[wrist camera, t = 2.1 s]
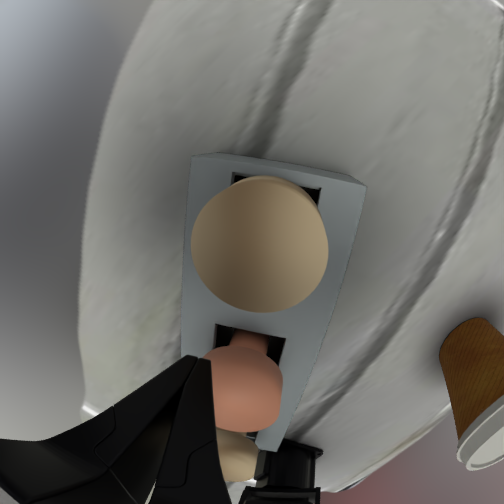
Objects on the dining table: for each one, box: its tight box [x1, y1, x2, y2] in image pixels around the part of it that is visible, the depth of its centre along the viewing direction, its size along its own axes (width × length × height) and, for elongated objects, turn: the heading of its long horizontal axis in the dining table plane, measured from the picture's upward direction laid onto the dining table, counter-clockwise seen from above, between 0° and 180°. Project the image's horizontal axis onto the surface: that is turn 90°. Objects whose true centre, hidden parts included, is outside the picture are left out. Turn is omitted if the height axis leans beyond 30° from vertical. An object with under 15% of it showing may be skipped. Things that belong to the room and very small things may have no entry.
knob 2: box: [191, 175, 328, 313], centre depth 14 cm, size 5×5×7 cm
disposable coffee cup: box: [439, 318, 504, 471], centre depth 15 cm, size 10×10×12 cm
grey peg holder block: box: [181, 152, 367, 452], centre depth 21 cm, size 9×24×5 cm, turn 172°
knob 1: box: [216, 427, 259, 482], centre depth 21 cm, size 5×5×7 cm
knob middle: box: [203, 328, 283, 432], centre depth 18 cm, size 5×5×7 cm
